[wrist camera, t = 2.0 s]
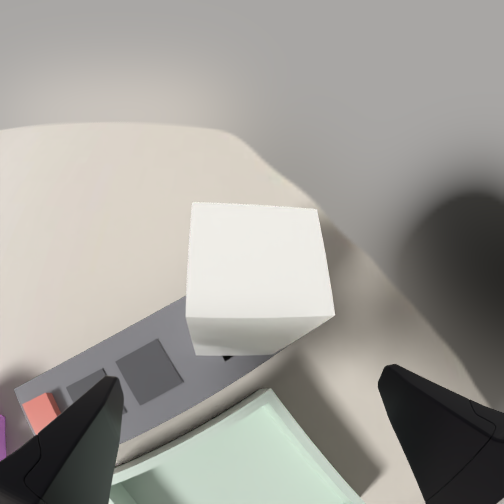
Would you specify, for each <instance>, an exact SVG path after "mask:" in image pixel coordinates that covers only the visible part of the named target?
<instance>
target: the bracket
mask: <svg viewBox="0 0 504 504" xmlns="http://www.w3.org/2000/svg"><path fill="white" fill-rule="evenodd" d="M4 458H6V441H5V417H4V416H2V415H1V414H0V461H1V460H3V459H4Z"/></svg>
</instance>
